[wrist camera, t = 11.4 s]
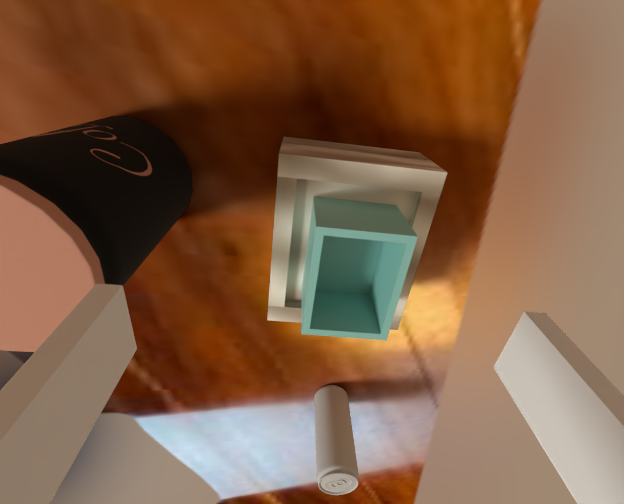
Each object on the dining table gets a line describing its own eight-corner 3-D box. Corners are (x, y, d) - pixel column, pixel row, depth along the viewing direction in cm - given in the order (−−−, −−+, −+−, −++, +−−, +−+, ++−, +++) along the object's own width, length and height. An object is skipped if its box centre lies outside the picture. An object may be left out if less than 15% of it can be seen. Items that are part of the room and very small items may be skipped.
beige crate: (283, 135, 31) (278, 152, 25) (420, 151, 32) (448, 171, 26) (272, 280, 38) (266, 320, 32) (383, 289, 39) (397, 330, 33)
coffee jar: (201, 131, 30) (93, 199, 15) (191, 233, 35) (102, 366, 20) (76, 99, 29) (-195, 136, 13) (84, 210, 34) (-106, 335, 18)
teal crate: (313, 196, 27) (316, 226, 22) (396, 204, 28) (417, 236, 23) (301, 290, 32) (301, 333, 27) (372, 296, 32) (386, 340, 27)
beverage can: (351, 399, 49) (365, 489, 38) (321, 408, 50) (327, 499, 39) (339, 378, 47) (350, 468, 36) (308, 388, 48) (310, 479, 37)
